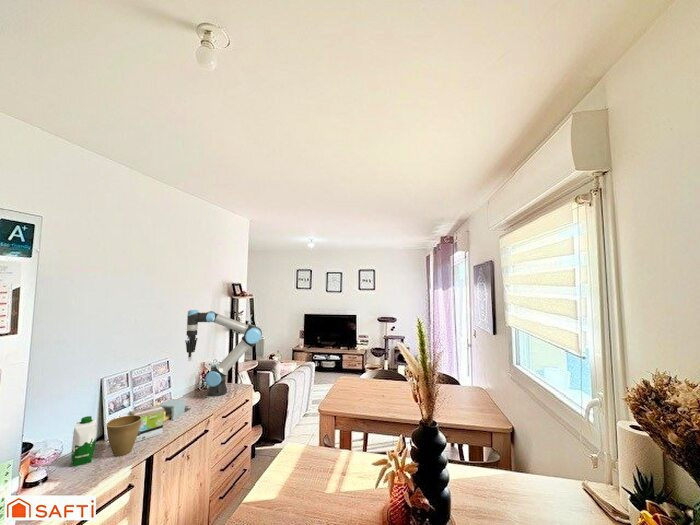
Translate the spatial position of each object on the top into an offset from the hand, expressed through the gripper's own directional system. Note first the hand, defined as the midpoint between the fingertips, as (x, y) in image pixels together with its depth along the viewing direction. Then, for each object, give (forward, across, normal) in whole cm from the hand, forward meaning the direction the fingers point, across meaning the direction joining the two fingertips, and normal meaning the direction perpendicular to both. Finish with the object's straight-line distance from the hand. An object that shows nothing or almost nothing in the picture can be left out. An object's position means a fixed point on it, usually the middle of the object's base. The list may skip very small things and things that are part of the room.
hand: (190, 361), depth 239 cm
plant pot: (+30, +76, +11) cm, 82 cm away
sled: (+29, +33, +7) cm, 44 cm away
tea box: (+30, +57, +10) cm, 65 cm away
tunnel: (+29, +28, +7) cm, 41 cm away
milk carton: (+30, +86, -1) cm, 90 cm away
